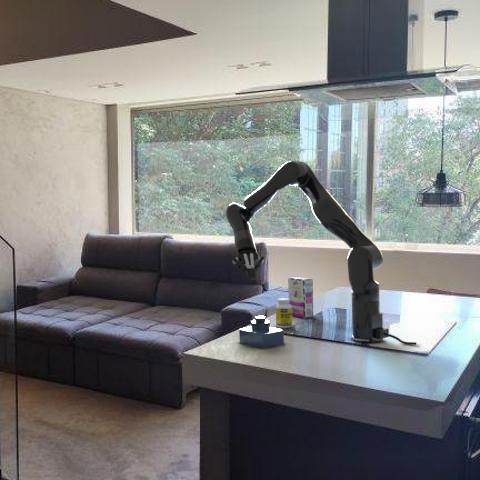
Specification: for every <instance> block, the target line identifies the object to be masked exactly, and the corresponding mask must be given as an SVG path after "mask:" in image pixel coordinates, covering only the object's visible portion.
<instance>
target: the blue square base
mask: <svg viewBox="0 0 480 480" xmlns="http://www.w3.org/2000/svg"><path fill="white" fill-rule="evenodd" d="M238 333H239V335H238V336H239V344H242V345H247V346H249V347H250V346H251V347H254V348H258V349H260V350H261V349H262V350H264V349H268V348H269V349H270V348H273V347H277V346H281V345H285V334H284V333H285V332H284V329H282V328H276V327H271V321H270V320H268V319H265V322H264V323H256V322H255V319H253V320H250V326H247V327H243V328H239V329H238Z"/></svg>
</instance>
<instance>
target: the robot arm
mask: <svg viewBox="0 0 480 480" xmlns="http://www.w3.org/2000/svg"><path fill="white" fill-rule="evenodd" d="M289 186H297V187H298V188H299V189H300V190H301V191H302V192H303V193H304V195H306V197H307V199H308V200H309V203H310V206H311V210H312V213H313V215H314V216H315V218H316V219H317V220H318V221H319V223H320V224H321V225H322V227H324V229H326V230H327V232H329V233H331V234H332V235H333V236H335V237H337V238H338V239H340V240H341V241H343V242H344V243H345V244H346V245H347V246H348V247H349V248H350V250H349V252H348V254H347V273H348V282H349V285H350V287H351V323H352V324H351V325H352V327H351V328H352V329H351V330H352V335H351V337H352V338H351V339H352V340H353V341H355V342H358V343H359V342H360V343H370V344H373V343H376V342H381V341H384V339H386V338H391V339H394V340H397V341H398V342H399V343H401V344H404V345H410V346H411V345H413V346H416V345H417V342H415V341H405V340H402V339H400V337H397V336H395V335H393V334H390V333H389V332H390V331H389V330H390V329H389V328H388V327H384V324H383V323H384V321H383V316H384V315H383V313H382V312H381V305H380V304H381V303H380V284H379V282H378V281H376V280H375V279H374V271H375V270H378V269H379V268H380V267H382V265H383V263H384V255H383V253H382V251H381V249H380V248H379V247H378V246H377V244H375V243H374V241H372V240H371V239H370V238H369V237H368V236H366V234H365V233H364V232H363V231H362V230H361V229H360V228H359V227H358V226H357V224H356V223H355V222H354V220H353V219H352V218H351V217H350V216H349V215H348V213H347V212H346V211H345V210H344V209H343V207H342V206H341V205H340V204H339V202H338V201H337V200H336V198H334V197H333V196H332V194H331V193H330V192H329V191H328V190H327V188H325V186H324V185H323V184H322V183H321V181H320V180H319V178H318V177H317V175H316V174H315V172H314V171H313V169H312V168H311V167H310V166H309V165H308V164H307V163H305V162H303V161H299V160H289V161H286V162H285V163H284V164H282V165H281V167H279V168H278V169H277V170H276V172H274V174H273V175H271V177H270V178H269V179H268V180H267V181H266V182H264V183H263V184H262V185H261V186H259V187H258V188H257V189H256V190H255V191H253V192H252V193H251V194H249V195H247V196H246V197H245V198H244V200H243V205H241V204H239V203H236V202H232V203H230V204H228V206H227V207H226V210H225V216H226V220H227V222H228V224H229V225H230V227H231V229H232V232H233V237H234V246H235V251H236V257H233V258H232V265H233V266H235V267H236V268H237V269H238V270H240V271H241V272H246V276H247V278H248V279H249V280H255V278H256V271H259V269H260V268H261V267H262V265H263V264H264V262H265V256H260V255H259V253H258V252H257V248H256V244H255V240H254V239H255V238H254V236H253V234H252V228H251V225H250V223H249V222H250V221H251V219H252V218H253V217H254V215H255V214H256V213H257V212H258V211H259V210H261V209H262V208H264V207H265V206H267V204H269V203H270V202H271V201H272V199H273V198H274V196H275V195H276V194H277V193H278V192H279V191H281V190H282V189H284V188H287V187H289Z"/></svg>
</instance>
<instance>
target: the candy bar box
mask: <svg viewBox="0 0 480 480" xmlns="http://www.w3.org/2000/svg"><path fill="white" fill-rule="evenodd" d="M313 280H314V279H313V278H309V277H299V276H291V277H288V278H287V282H288V283H287V285H288V286H287V287H288V299H290V303H289V304H290V305H291V306H292V317H297V318H301V319H310V318H311V319H312V318H314V285H313V284H314V281H313Z"/></svg>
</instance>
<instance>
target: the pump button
mask: <svg viewBox="0 0 480 480" xmlns="http://www.w3.org/2000/svg"><path fill="white" fill-rule="evenodd" d="M254 320H255V322H256V323H264V322H265V320H266V316H264V315H258V316H255V317H254Z"/></svg>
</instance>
